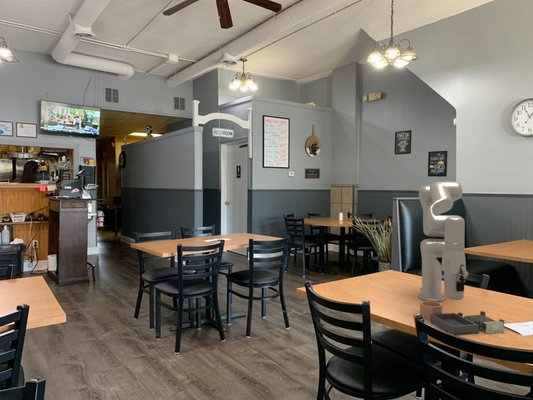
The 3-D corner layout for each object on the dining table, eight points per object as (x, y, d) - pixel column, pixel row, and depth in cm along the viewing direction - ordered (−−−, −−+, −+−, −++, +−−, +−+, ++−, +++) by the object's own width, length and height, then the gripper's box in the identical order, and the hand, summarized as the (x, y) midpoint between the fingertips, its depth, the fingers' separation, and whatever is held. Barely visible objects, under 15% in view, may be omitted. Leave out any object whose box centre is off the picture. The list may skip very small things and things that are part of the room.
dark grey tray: (430, 322, 172) (430, 314, 172) (454, 320, 174) (454, 312, 174) (452, 335, 157) (452, 326, 157) (478, 333, 159) (478, 324, 159)
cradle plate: (463, 320, 171) (463, 315, 171) (482, 319, 173) (482, 314, 173) (478, 327, 162) (478, 322, 162) (497, 326, 164) (497, 321, 164)
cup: (416, 314, 183) (416, 301, 183) (434, 313, 184) (434, 300, 184) (427, 320, 174) (427, 307, 174) (446, 319, 176) (446, 306, 175)
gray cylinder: (458, 295, 169) (458, 267, 169) (467, 300, 162) (467, 271, 161) (440, 295, 169) (441, 267, 168) (449, 300, 161) (449, 271, 161)
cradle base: (457, 321, 173) (457, 312, 173) (483, 320, 175) (483, 311, 175) (481, 334, 158) (481, 324, 158) (509, 332, 160) (509, 322, 160)
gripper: (433, 244, 173) (433, 284, 173) (459, 250, 155) (459, 294, 156) (449, 243, 174) (449, 283, 174) (476, 249, 157) (476, 293, 157)
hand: (453, 288), depth 165 cm, fingers closed on gray cylinder, 7 cm apart
